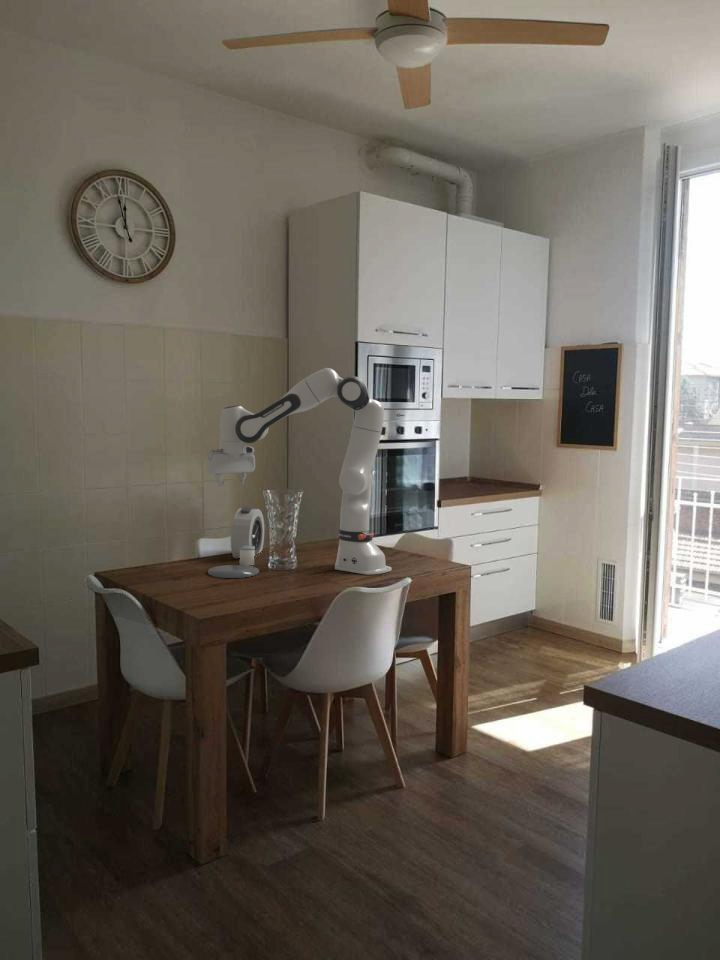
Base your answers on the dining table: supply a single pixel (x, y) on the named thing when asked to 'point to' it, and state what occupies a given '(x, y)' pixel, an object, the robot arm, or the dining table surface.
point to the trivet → (233, 571)
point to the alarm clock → (247, 530)
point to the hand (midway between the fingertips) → (231, 484)
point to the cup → (247, 555)
